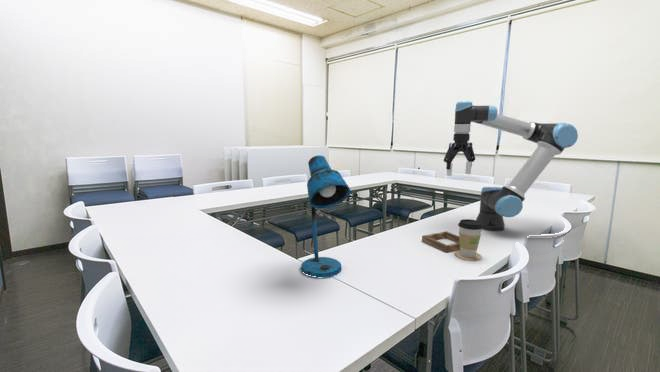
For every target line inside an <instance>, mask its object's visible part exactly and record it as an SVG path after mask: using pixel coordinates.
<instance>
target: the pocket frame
mask: <svg viewBox="0 0 660 372" xmlns="http://www.w3.org/2000/svg"><path fill="white" fill-rule="evenodd" d="M443 239H447V240H449V241H451V242H454V243H450V244H449V243H448V244H446V243H444V242H441V241H439V240H443ZM421 242H422V243H424V244H426V245H429V246H431V247H433V248H434V249H437V250H439V251H442V252H443V253H447V254H448V253H452V252H456V251H458V250H460V242H459V235H457V234H454V233H451V232H449V231H440V232H436V233H431V234H430V233H429V234H425V235H422V236H421Z"/></svg>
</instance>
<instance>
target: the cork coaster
mask: <svg viewBox="0 0 660 372" xmlns="http://www.w3.org/2000/svg"><path fill="white" fill-rule="evenodd" d="M454 256H455V257H457V258H458V259H461V260H464V261H469V262H471V261H472V262H474V261H475V262H476V261H480V260H481V259H482V255H481V254H480V253H478V252H476V256H475V257H472V258H470V257H464V256H462V255H461V254H460V250H457V251H454Z"/></svg>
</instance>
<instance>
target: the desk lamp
mask: <svg viewBox="0 0 660 372" xmlns="http://www.w3.org/2000/svg"><path fill="white" fill-rule="evenodd" d="M325 157H326V156H324V155H314V156H312V157H311V158H310V159H309V160H308V162H307V163H308V170H309V173H310V177H309V179H308V181H307V183H306V187H307V196H308V203H309V206H311V207H310V208H311V211H310V212H311V226H312V227H311V229H312V241H313V243H312V245H313V253H314V256H313V257H312V258H311V257H310V258H308V259H306V260H304V261H303V262H302V263H301V266H300V267H301V268H300V271H301V270H302V271H301V273H302V272H304V273H305V274H308V275H311V276H316V277H329V278H332V277H331V276H333V277H335V276H334V275H336V276H338V275H339V274H340V273H341V272H342V264H341V262H340V261H339V260H337V259H336V258H334V257H333V258H331V257H329V256H328V257H327V256H319V248H318V247H319V246H318V245H319V244H318V232H317V216H316V214H317V213H316V209H318V210H319V209H329V208H332V207H334V206H336V205H339V204H340V203H343V202H344V201H345V200H346V199H347V198H348V197H349V196H350V194H351V188H350V187H349V185H348V183H347V182H346V180H345V179H344V178H343V176H342V174H341V173H340V172H339V171H338V170H336V169H332V167H331V166H330V164H329V162H328V161H327V158H325ZM338 273H339V274H338ZM305 274H304V275H305ZM337 274H338V275H337Z"/></svg>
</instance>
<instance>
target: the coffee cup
mask: <svg viewBox="0 0 660 372" xmlns="http://www.w3.org/2000/svg"><path fill="white" fill-rule="evenodd" d="M457 225H458V228H459V229H458V230H459V231H458V236H459V242H460V254H461V255H462V256H464V257H470V258H472V257H475V256H476V253H477V251H478V248H479V243H480V240H481V235H482V233H481V232H482V230H483V229H482V228H483V226H482V224H481V222H479V221H476V219H469V218H468V219H467V218H466V219H460V221H459V222H458V223H457Z"/></svg>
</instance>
